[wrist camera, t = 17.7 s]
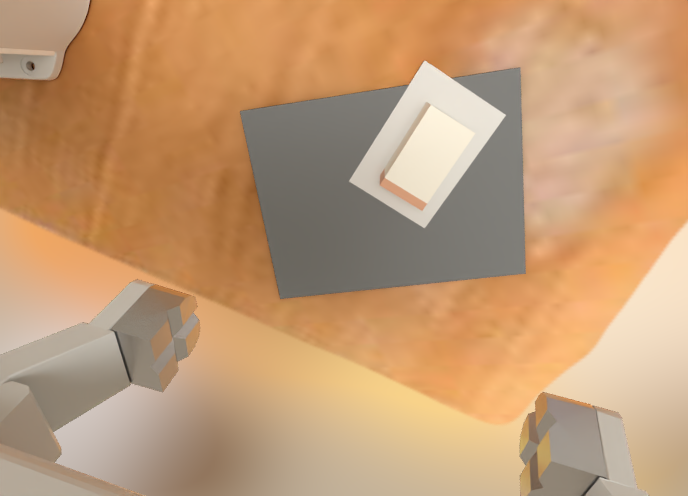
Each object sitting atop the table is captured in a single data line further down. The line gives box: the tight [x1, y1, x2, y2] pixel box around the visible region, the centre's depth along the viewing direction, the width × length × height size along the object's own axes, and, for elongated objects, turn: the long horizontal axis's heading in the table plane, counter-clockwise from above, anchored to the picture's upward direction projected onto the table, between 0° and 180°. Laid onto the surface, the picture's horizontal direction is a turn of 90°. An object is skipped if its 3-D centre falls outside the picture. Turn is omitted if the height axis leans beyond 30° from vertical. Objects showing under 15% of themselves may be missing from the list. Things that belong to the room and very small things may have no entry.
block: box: [380, 102, 475, 211], centre depth 43 cm, size 4×4×8 cm
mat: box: [240, 61, 526, 299], centre depth 47 cm, size 26×22×1 cm
